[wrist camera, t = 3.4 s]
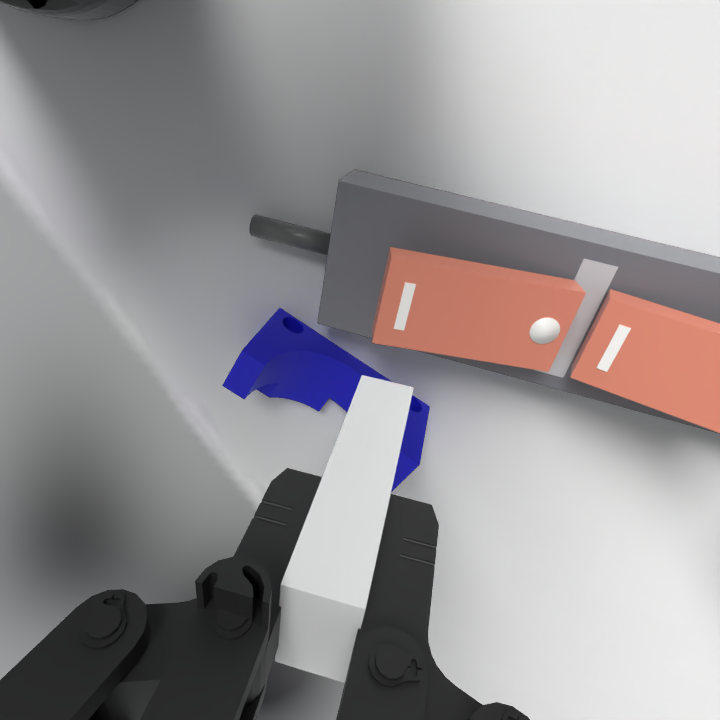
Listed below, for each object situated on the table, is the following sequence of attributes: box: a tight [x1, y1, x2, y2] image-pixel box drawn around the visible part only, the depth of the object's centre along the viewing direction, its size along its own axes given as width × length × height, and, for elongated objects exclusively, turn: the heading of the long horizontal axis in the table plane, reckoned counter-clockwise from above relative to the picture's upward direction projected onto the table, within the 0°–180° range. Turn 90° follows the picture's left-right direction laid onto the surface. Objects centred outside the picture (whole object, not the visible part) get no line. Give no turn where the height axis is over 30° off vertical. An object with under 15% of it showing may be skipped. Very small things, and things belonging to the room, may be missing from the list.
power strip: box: [250, 170, 720, 433], centre depth 26 cm, size 31×8×3 cm, turn 78°
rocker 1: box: [372, 247, 586, 372], centre depth 23 cm, size 9×4×2 cm, turn 80°
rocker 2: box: [570, 289, 720, 433], centre depth 22 cm, size 9×4×2 cm, turn 80°
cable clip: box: [222, 308, 429, 492], centre depth 31 cm, size 12×4×6 cm, turn 57°
